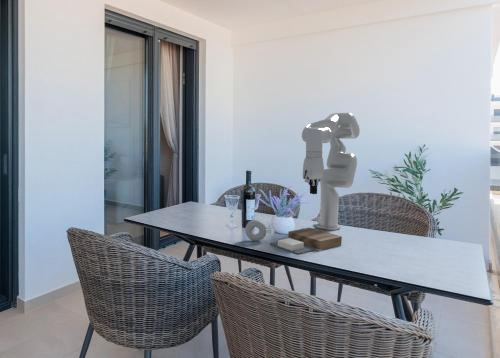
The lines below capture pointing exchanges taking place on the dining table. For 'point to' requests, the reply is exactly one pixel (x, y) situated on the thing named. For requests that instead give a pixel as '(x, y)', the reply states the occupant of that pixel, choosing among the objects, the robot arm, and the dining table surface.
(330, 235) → the stand
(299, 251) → the mat
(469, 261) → the dining table surface
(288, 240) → the tile
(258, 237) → the donut
